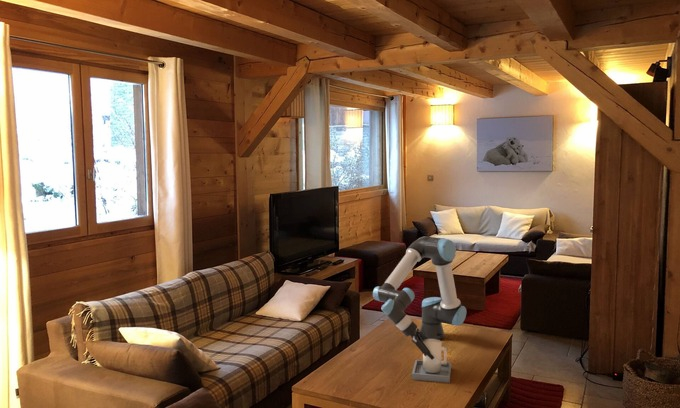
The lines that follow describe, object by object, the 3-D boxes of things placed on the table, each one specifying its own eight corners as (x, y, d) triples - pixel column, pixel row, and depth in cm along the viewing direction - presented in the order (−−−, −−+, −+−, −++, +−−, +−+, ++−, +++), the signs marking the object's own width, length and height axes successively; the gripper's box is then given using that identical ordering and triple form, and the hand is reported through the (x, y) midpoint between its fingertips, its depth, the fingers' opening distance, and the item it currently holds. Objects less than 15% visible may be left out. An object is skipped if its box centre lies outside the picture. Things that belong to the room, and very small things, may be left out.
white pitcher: (423, 364, 287) (423, 338, 285) (446, 366, 284) (447, 339, 283) (422, 371, 278) (422, 344, 276) (445, 374, 275) (446, 346, 274)
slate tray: (415, 365, 292) (415, 359, 292) (450, 368, 288) (451, 362, 288) (411, 379, 275) (411, 373, 275) (449, 382, 271) (449, 376, 270)
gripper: (403, 323, 293) (434, 355, 291) (398, 338, 272) (431, 372, 270) (414, 314, 291) (445, 346, 290) (409, 328, 270) (443, 363, 269)
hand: (438, 359), depth 280 cm, fingers closed on white pitcher, 9 cm apart
